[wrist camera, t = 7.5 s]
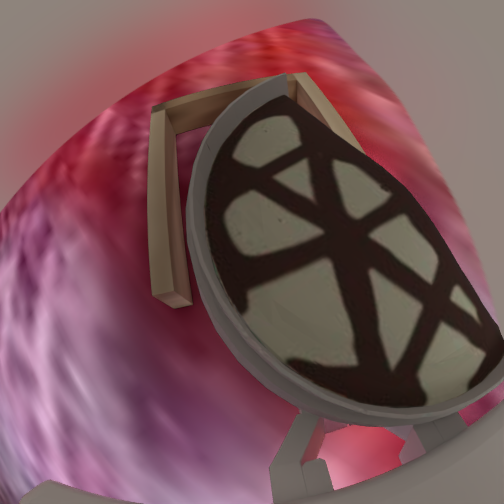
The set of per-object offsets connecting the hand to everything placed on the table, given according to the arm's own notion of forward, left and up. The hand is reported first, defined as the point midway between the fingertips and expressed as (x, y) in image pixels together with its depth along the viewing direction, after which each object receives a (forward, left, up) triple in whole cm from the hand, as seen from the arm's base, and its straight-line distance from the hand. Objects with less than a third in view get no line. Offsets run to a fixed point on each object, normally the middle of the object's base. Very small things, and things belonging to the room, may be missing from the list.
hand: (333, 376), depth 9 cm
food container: (0, +3, -5) cm, 6 cm away
